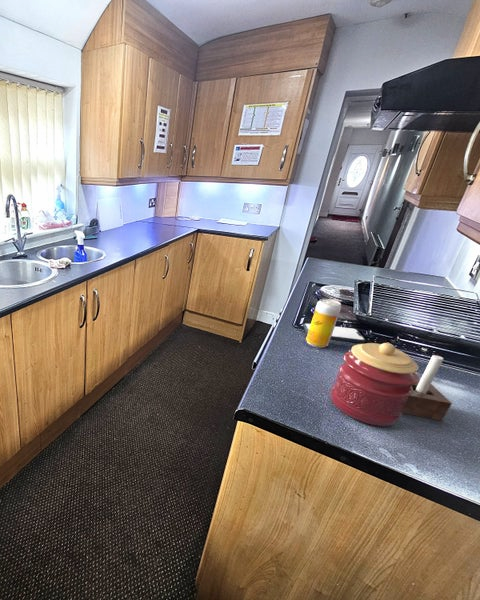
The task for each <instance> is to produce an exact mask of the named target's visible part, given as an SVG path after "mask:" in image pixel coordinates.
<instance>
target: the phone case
mask: <svg viewBox="0 0 480 600" xmlns="http://www.w3.org/2000/svg"><path fill="white" fill-rule="evenodd" d="M310 325H311V323H309V322H308V323H307V322H306V323H303V326H302V327H303V329H304V330H305V332H306V334H308V331H309V328H310ZM330 340H334V341H339V342H341V341H342V342H346V343H347V342H348V343H355V344H366V343H365V342H366V338H365V337H364V336H363V335H362V334H361V333H360V332H359V330H358V329H356V328H352V327H345V326H343V327H342V326H335V327H334V330H333V333H332V336H331V339H330Z"/></svg>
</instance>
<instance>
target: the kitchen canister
mask: <svg viewBox="0 0 480 600" xmlns="http://www.w3.org/2000/svg"><path fill="white" fill-rule="evenodd" d="M350 350H351V351H349V352H348V351H347V352H346V353H344V355H343V361H344V363H342V364H340V365H339V367H338V373H337V376H336V378H335V380H334V383H333V385H332V386H331V388H330V394H329V395H330V396H329V397H330V401H331V402H332V403H333V405H334V406H335V407H336V408H337V409H338V410H339V411H341V412H342V413H344V414H345V415H346V416H349V417H350V418H353V419H355V420H357V421H359V422H363V423H364V424H365V423H366V424H367V425H374V426H380V427H388V426H392V425H395V423H397V421H398V420H400V419H401V416H402V415H403V413H402V410H403V408H404V406H405V404H406V402H407V400H408V398H409V396H410V395H411V394H412V392H413V389H412V385H414V384H416V383H417V382H418V381H419V377H420V375H419V374H418V372H417V371H418V370H419V365H418V363H417V362H416V360H414V359H412V358H411V357H410V356H409V355H408V354H407V353H405V352H404V351H402V350H400V349H397V348H396V347H395V345H393V344H392V343H390V342H383V343H373V342H367V343H357V344H355V345H353V346H352V347H351V349H350Z"/></svg>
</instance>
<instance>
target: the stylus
mask: <svg viewBox="0 0 480 600" xmlns="http://www.w3.org/2000/svg"><path fill="white" fill-rule="evenodd" d="M443 361H444V357H442V356H440V355H437V354H436V355H435V354H433V355H432V356H431V358H430V360H429V362H428V364H427V366H426V368H425V370H424V372H423V374H422V376H421V377H420V378H421V379H420V381H419V383H418V385H417V387H416V389H415V392H416V393H421V394H426V392H427V390H428V388H429V386H430V384H432V382H433V381H434V380H435V377H436V375H437V373H438V371H439V369H440V367H441V365H442V364H443Z"/></svg>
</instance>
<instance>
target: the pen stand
mask: <svg viewBox="0 0 480 600" xmlns="http://www.w3.org/2000/svg"><path fill="white" fill-rule="evenodd" d="M418 383H419V382H417V383H416V384H414V385H412V389H413V392H412V394H411V395H410V396H409V398H408V400H407V402H406V404H405V406H404V408H403V410H402V414H406V415H411V416H415V417H419V418H420V417H421V418H426V419H430V420H436V421H441V422H443V420H444V418H445V416H446V414H447V413H448V411H449V410H450V408H451V406H452V404H453V403H452V402H451V401H450V400H449V399H448V398H447V397H446V396H445V395H444V394H443V393H441V391H439V390H438V388H436V387H435V386H434V385H433V384H432V383H431V384H430V386H429V388H428V390H427V392H426V394H421V393H416V392H415V389H416V387H417V385H418Z"/></svg>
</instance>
